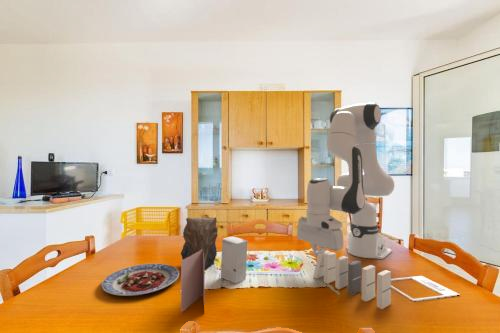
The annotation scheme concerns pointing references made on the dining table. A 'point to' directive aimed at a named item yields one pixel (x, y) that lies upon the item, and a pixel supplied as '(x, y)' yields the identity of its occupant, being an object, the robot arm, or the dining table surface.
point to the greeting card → (192, 279)
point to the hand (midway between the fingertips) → (318, 256)
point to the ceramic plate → (140, 279)
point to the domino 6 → (383, 289)
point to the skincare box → (234, 259)
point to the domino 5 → (368, 283)
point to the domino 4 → (354, 277)
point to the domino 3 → (341, 272)
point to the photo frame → (429, 284)
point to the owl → (200, 238)
